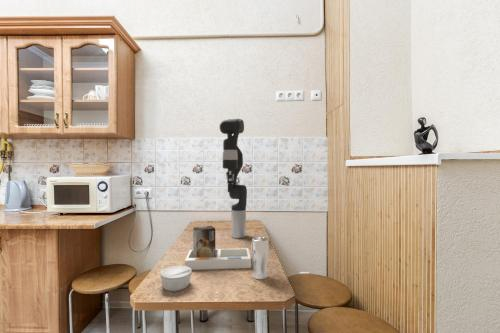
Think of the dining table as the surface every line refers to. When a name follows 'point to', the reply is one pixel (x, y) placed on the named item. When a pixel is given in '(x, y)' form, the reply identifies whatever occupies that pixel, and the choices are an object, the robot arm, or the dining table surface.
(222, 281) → the dining table surface
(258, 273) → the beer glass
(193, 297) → the dining table surface
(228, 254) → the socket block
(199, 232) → the coffee box
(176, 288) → the ramekin
